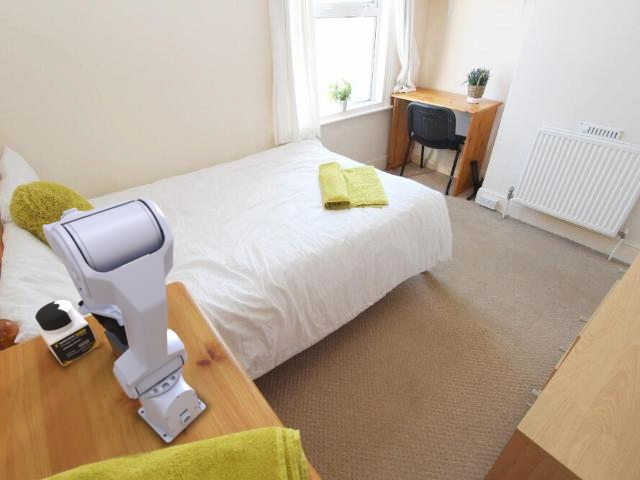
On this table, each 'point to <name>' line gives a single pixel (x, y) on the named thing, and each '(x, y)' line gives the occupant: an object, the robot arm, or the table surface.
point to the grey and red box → (116, 344)
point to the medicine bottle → (65, 331)
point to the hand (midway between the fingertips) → (119, 333)
